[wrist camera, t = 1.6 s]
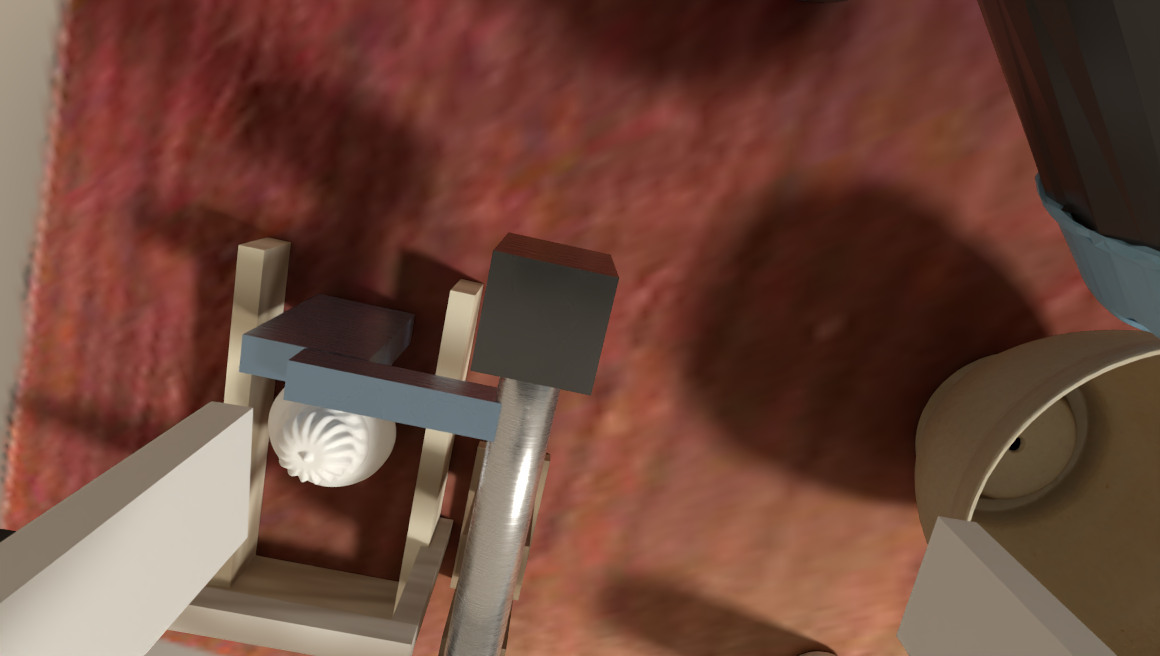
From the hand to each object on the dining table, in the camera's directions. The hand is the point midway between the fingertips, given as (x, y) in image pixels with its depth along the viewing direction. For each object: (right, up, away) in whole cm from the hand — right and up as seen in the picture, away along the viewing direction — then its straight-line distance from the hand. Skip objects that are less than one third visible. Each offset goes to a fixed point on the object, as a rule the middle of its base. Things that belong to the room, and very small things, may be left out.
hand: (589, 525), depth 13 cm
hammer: (-8, 0, +23) cm, 24 cm away
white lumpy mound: (-12, 0, +24) cm, 27 cm away
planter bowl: (+23, -2, +24) cm, 34 cm away
